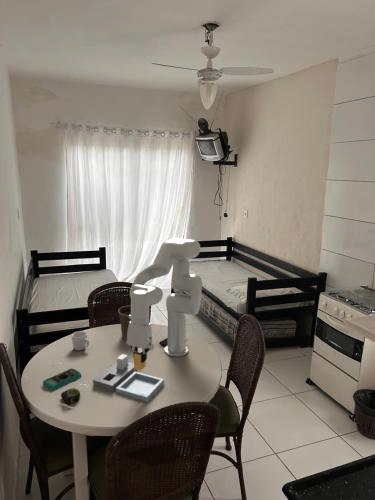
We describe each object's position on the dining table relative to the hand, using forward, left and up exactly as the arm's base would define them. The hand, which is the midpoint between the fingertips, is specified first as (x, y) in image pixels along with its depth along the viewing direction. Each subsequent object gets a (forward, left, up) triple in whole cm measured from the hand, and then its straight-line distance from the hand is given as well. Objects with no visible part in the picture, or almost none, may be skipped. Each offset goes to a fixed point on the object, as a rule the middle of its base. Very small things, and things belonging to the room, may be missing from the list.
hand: (140, 360), depth 156 cm
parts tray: (0, 0, -14) cm, 14 cm away
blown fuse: (0, 0, -4) cm, 4 cm away
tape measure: (+20, -21, -14) cm, 32 cm away
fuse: (-7, -14, -13) cm, 21 cm away
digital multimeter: (+10, -34, -14) cm, 38 cm away
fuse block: (-2, -14, -14) cm, 20 cm away
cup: (-18, -47, -14) cm, 52 cm away
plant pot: (-43, -31, -14) cm, 55 cm away
